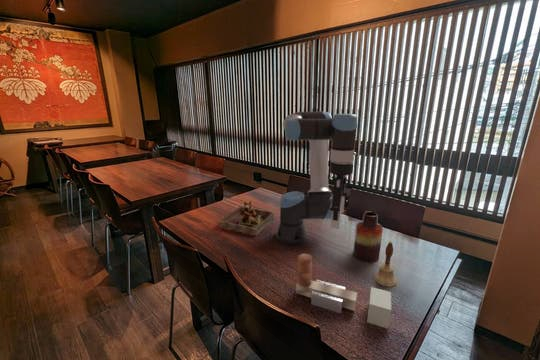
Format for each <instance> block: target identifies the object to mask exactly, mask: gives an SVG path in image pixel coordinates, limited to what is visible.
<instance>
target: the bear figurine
mask: <svg viewBox="0 0 540 360" xmlns="http://www.w3.org/2000/svg"><path fill="white" fill-rule="evenodd" d="M243 204H244V205H243V207H244V208H245V210H244V211H243V213H242V214H243V216H241V217H240V218H239V219H238V225H243V226H247V227H252V228H255V226H256V225H258V224H260V219H262V217H261V216H256V212H255V211H254V209H255V208H254V207H252V201H249V202H247V201H244V202H243ZM253 208H254V209H253Z"/></svg>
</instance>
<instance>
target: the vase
mask: <svg viewBox="0 0 540 360" xmlns="http://www.w3.org/2000/svg"><path fill="white" fill-rule="evenodd" d="M378 216H379V215H378V213H376V212H373V211H365V212H364V213H363V217H362V220H360V221H358V222H357V223H356V225H355V234H354V243H353V255H354V256H353V257H355V258H356V259H357V260H359V261H361V262H364V263H376V262H378V261H379V259H380V253H381V246H382V240H383V232H384V231H383V230H384V228H383V226H382V225H381V224H380V223H378V221H379V220H378V219H379V217H378Z"/></svg>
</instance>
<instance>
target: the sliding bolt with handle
mask: <svg viewBox="0 0 540 360" xmlns="http://www.w3.org/2000/svg"><path fill="white" fill-rule="evenodd" d="M297 257H298V259H297V263H298V264H297V281H296V284H295V294H298V295H301V296H304V297H307V298H310V299H311V296H312V291H315V292H318V293H322V294H325V295H329V296H332V297H336V298H339V299H342V300H343V302H342V309H343V308H344V309H347V310H350V311H354V312H355V311H356V305H357V298H358V292H356V291H353V290H349V289H346V288H345V289H342V288H338V287H335V286H331V285H327V284H324V283H320V282H317V280H313V279H312V278H313V277H312V275H313V256H312V255H311V254H309V253H301V254H299V255H298V256H297Z"/></svg>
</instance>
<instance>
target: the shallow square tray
mask: <svg viewBox="0 0 540 360" xmlns="http://www.w3.org/2000/svg"><path fill="white" fill-rule="evenodd" d="M252 208H253V209H254V211H255V212H256V215H261V216H265V217H264V220H262V221H263V222H262V223H261V224H260V225H259V226H258V227H257V228H252V227H247V226H243V225H239V223H238V224H237V223H232V222H231V221H232V220H231V219H232V218H234V217H235V216H236V215H238V214H239V213H240V212H243V211H244V210H245V208H244V205H243V206H242V205H240V206H239V207H237V208H236V209H235V210H233V211H231V212H230V213H229V214H228V215H226V216H225V217H224V218H222V219H221V220H219V221H218V224H219V228H220V227H222V228H226V229H230V230H234V231H233V232H235V231H238V232H237V233H239V232H243V233H242V234H244V233H247V234H246V235H248V234H250V235H249V236H253V235H255V236H254V237H258V236H259V235H260V234H261V233H262V232H263V231H264V230H265V229H266V228H267V227H266V226H267V225H268V226H269V225H270V223H272V221H273V220H274V219H275V212H274V211H271V210H270V211H269V210H264V209H259V208H254V207H252ZM239 215H240V214H239ZM239 215H238V216H239ZM261 216H260V217H261ZM266 217H267V218H266ZM235 218H236V217H235ZM235 218H234V219H235ZM273 218H274V219H273ZM272 219H273V220H272ZM230 220H231V221H230ZM229 221H230V222H229ZM265 227H266V228H265ZM222 228H221V229H222ZM264 228H265V229H264ZM226 229H225V230H226ZM263 229H264V230H263ZM230 230H229V231H230ZM262 230H263V231H262ZM261 231H262V232H261ZM260 232H261V233H260ZM259 233H260V234H259ZM258 234H259V235H258ZM257 235H258V236H257Z"/></svg>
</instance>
